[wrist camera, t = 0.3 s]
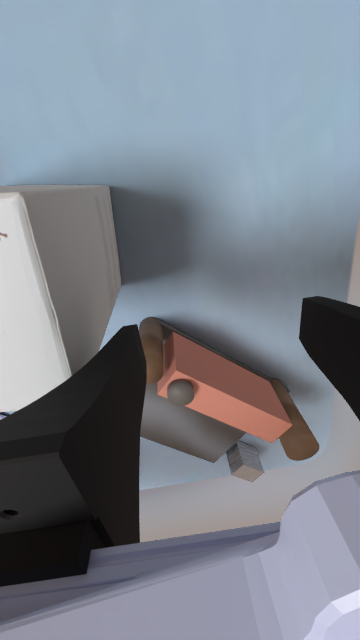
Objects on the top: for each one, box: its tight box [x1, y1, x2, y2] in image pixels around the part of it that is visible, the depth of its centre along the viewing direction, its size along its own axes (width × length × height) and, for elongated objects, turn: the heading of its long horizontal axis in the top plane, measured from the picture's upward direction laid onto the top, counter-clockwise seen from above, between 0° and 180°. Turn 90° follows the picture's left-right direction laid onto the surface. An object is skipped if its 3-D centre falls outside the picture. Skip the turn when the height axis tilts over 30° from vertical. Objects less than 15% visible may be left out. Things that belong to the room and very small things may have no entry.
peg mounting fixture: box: [139, 317, 319, 463], centre depth 24 cm, size 13×16×7 cm
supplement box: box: [0, 185, 121, 412], centre depth 13 cm, size 7×7×13 cm
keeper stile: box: [226, 441, 264, 482], centre depth 30 cm, size 2×3×3 cm, turn 58°
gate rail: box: [157, 332, 293, 443], centre depth 21 cm, size 2×11×6 cm, turn 57°
